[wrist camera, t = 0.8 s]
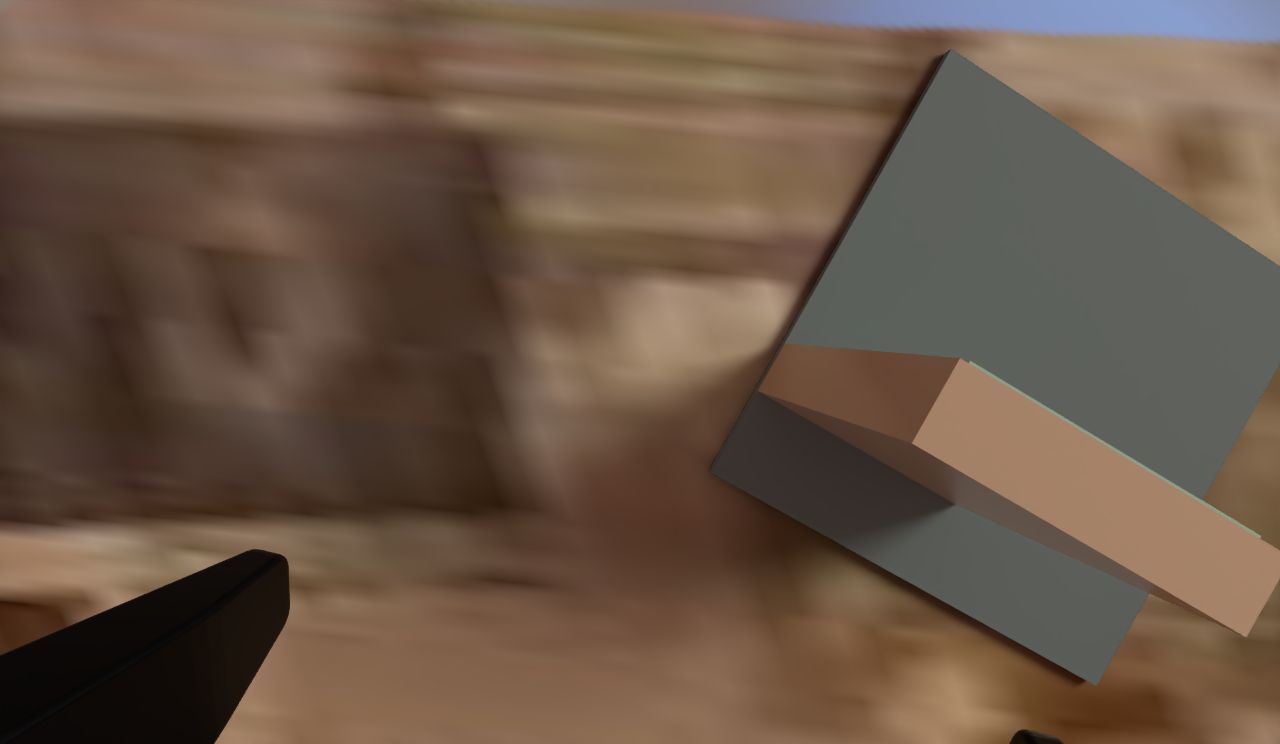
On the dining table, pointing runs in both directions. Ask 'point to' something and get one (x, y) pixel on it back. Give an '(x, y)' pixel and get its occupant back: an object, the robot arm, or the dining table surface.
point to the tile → (1031, 473)
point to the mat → (1020, 348)
